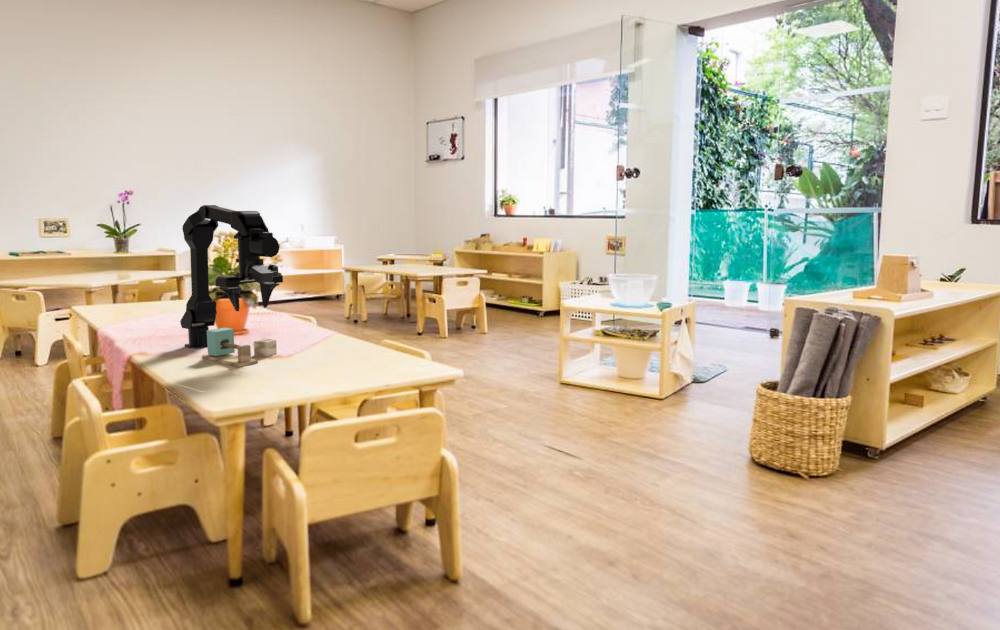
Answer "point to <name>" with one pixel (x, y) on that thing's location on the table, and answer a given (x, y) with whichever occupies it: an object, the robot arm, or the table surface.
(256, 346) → the maple cube
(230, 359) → the rail
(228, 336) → the bead
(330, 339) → the table surface
